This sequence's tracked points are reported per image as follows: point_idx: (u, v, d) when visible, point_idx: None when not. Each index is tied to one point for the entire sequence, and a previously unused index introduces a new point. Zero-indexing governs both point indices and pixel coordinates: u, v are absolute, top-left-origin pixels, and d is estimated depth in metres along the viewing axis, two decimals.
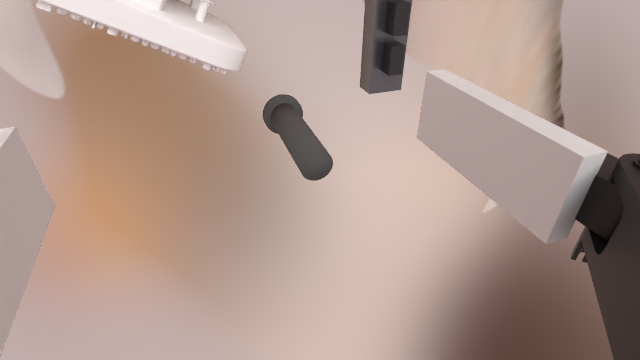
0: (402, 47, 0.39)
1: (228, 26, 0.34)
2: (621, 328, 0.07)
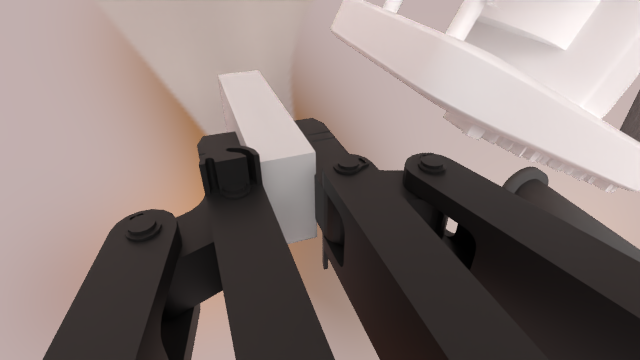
0: None
1: None
2: (384, 346, 0.07)
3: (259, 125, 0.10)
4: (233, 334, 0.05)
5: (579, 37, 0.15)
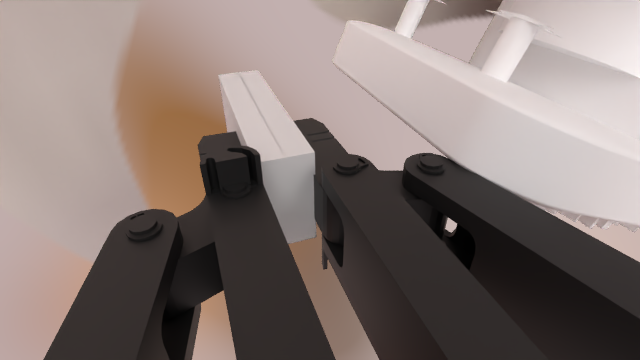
0: None
1: None
2: (383, 347, 0.07)
3: (260, 125, 0.10)
4: (234, 334, 0.05)
5: None
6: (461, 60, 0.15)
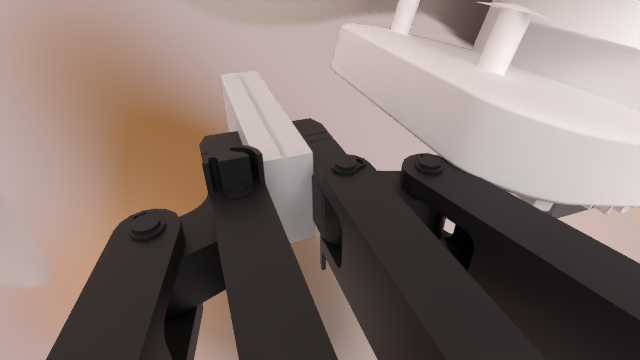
0: None
1: None
2: (382, 347, 0.07)
3: (261, 125, 0.10)
4: (236, 333, 0.05)
5: None
6: (462, 50, 0.15)
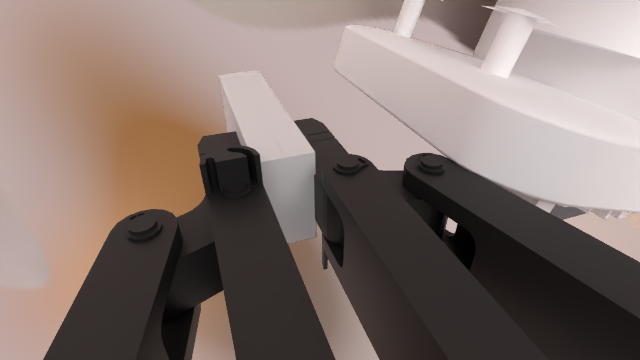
0: None
1: None
2: (383, 347, 0.07)
3: (260, 125, 0.10)
4: (233, 334, 0.05)
5: None
6: (463, 55, 0.15)
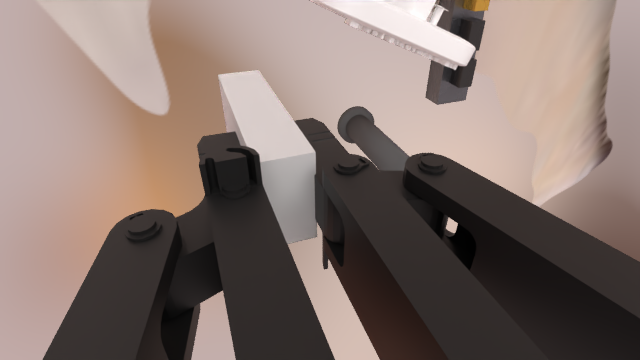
0: (473, 61, 0.42)
1: None
2: (384, 346, 0.07)
3: (259, 125, 0.10)
4: (233, 334, 0.05)
5: None
6: None
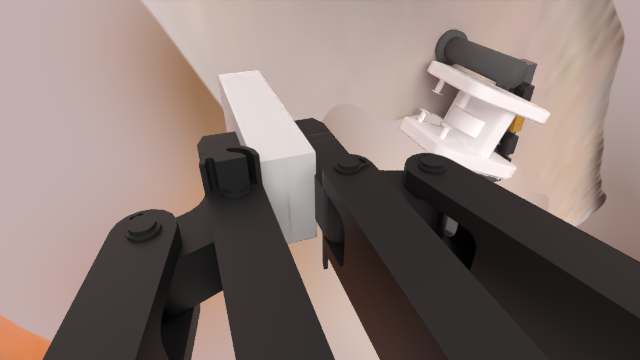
0: (509, 160, 0.61)
1: None
2: (384, 346, 0.07)
3: (259, 125, 0.10)
4: (233, 334, 0.05)
5: (479, 134, 0.49)
6: (436, 128, 0.53)
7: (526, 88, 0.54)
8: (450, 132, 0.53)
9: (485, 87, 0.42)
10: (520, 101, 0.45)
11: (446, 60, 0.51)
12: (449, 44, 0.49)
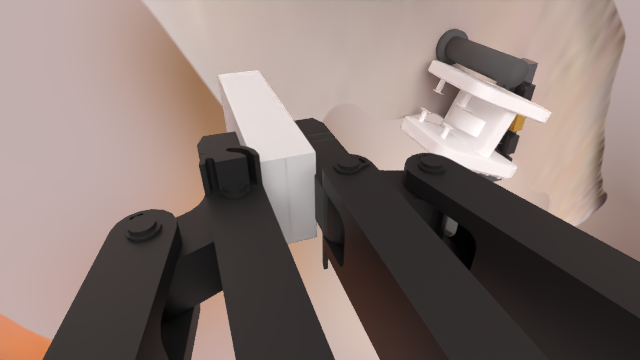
0: (510, 159, 0.61)
1: None
2: (384, 346, 0.07)
3: (259, 125, 0.10)
4: (233, 334, 0.05)
5: (479, 133, 0.49)
6: (437, 127, 0.53)
7: (527, 88, 0.54)
8: (451, 131, 0.53)
9: (486, 87, 0.42)
10: (521, 100, 0.45)
11: (447, 59, 0.51)
12: (450, 43, 0.49)
